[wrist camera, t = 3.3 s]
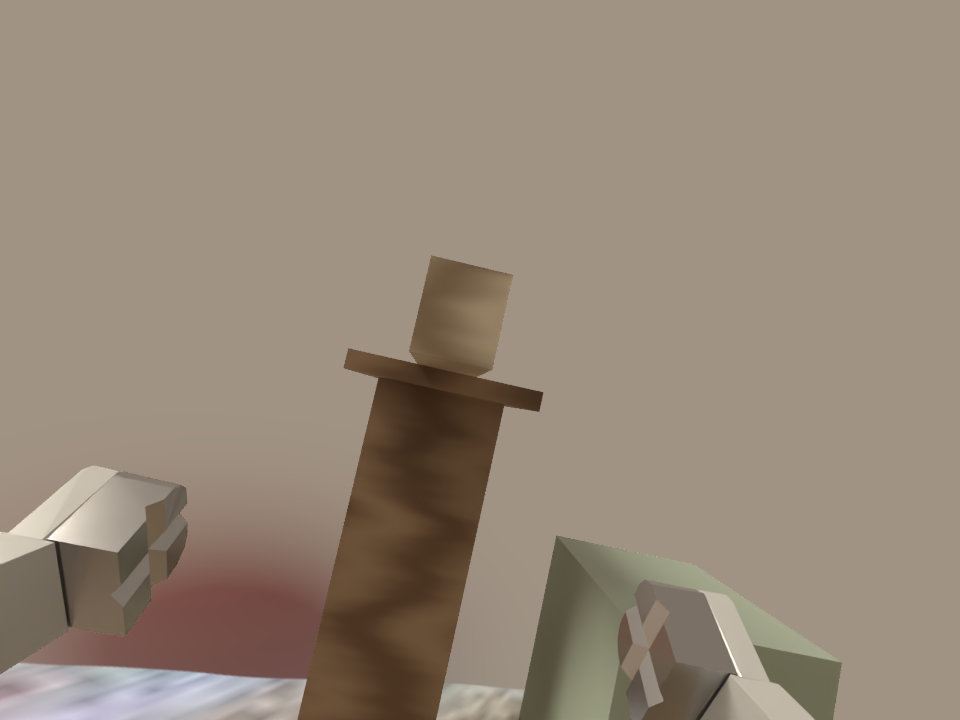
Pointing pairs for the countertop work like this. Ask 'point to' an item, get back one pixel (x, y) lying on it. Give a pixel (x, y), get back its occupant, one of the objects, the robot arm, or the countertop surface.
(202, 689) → the countertop surface
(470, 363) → the beech bar
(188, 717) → the countertop surface
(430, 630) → the walnut stand
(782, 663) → the sage box
